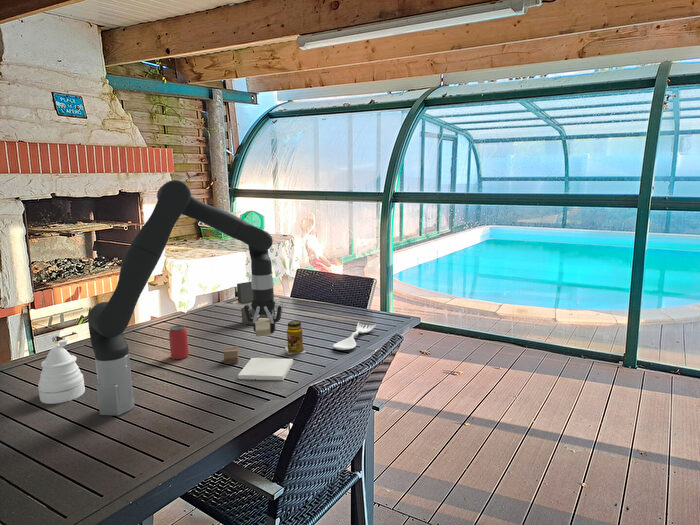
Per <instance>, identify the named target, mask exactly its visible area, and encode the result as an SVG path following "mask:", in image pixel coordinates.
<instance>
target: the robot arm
mask: <svg viewBox="0 0 700 525" xmlns="http://www.w3.org/2000/svg"><path fill="white" fill-rule="evenodd" d="M156 199H157V202H156V204H155V206H154V208H153V210H152V212H151V214H150V216H149V217H148V219H147V221H146V222H145V223H144V224H143V225H142V227H141V228H140V230H139V231H138V233H137V234H136V235H135V237H134V239H133V240H132V242H131V243H130V245H129V247H128V249H127V250H126V252H125V254H124V257H123V259H122V261H121V266H120V271H119V274H118V275H119V276H118V281H117V285H116V286H115V289H114V290H113V293H112V295H111V297H110V298H109V300H108V301H101V302H98V303H97V304H95V305H94V306H92V308H91V309H90V311H89V313H88V318H87V320H88V321H87V322H88V324H87V325H88V329H89V330H88V331H89V337H90V344H91V348H92V350H93V354H94V359H95V360H94V361H95V369H96V377H97V384H96V392H97V393H96V394H97V401H98V408H99V409H98V410H99V415H100V416H116V417H118V416H120V415H122V414H125V413H128V412H129V411H131V410H132V409H134V407H135V398H134V391H133V382H132V381H133V380H132V372H131V370H132V369H131V360H130V352H129V345H128V343H127V341H126V339H125V336H124V331H125V330H127V328H128V326H129V324H130V322H131V319H132V315H133V314H134V312H135V309H136V306H137V303H138V301H139V298H140V296H142V295H141V294H142V292H143V290H144V289H145V287H146V285H147V283H148V281H149V279H150V277H151V275H152V274H153V272H154V271H155V268H156V266H157V264H158V262H159V261H160V259H161V257H162V254H163V252H164V250H165V248H166V246H167V243H168V241H169V238H170V236H171V233H172V231H173V228H174V227H175V225H176V223H177V221H178V220H179V218H180V217H181V215H182V216H186V217H189V218H191V219H194V220H196V221H199V222H201V223H203V224H205V225H206V226H208V227H210V228H212V229H215V230H216V231H219V232H220V233H222V234H225V235H226V236H229V237H230V238H233V239H235V240H238V241H241V243H243V244H245V245H247V246H248V252H249V257H250V262H251V263H250V265H251V266H250V267H251V268H250V269H251V270H250V271H251V281H250V282H251V284H252V304H246V305H245V306H244V309H245V313H246V316H247V319H248V321H251V322H253V323H252V324H253V325H252V326H253V332H255V334H256V327H255V322H256V321H257V320H258V318H259V316H260V315H262V314H264V315H267V316H268V318H269V320H270V322H271V324H270V328H271V333H272V334H274V333H275V332H276V330H277V329H276V323H278V322H279V321H280V320H281V317H282V312H283V308H284V305H283V304H282V303H281V304H277V303H276V302H274V297H275V294H274V291H275V290H274V285H275V284H274V278H273V270H272V269H273V268H272V266H273V265H272V260H271V257H270V255H269V249H271V247H272V245H273V237H272V235H271V233H269V232H268V231H266V230H264V229H262V228H260V227H258V226H255V225H253V224H250V223H249V222H247V221H246V220H244V219H242V218H240V217H238V216H237V215H234V214H232V213H231V212H228V211H227V210H224V209H221V208H218V207H215V206H212V205H210V204H207V203H205V202H203V201H201V200H199V199H197V198H195V197H194V196H192V192H191V189H190V187H189V185H188V184H187V183H186V182H185V181H183V180H179V179H173V180H169V181H167V182H165V183H164V184H162V186H160V188H159V189H158V191H157V193H156ZM251 307H253V309H254V310H255V311H256V312H255V315H254V318H253V316H252V313H251V309H252V308H251ZM274 307H275V311H276V314H275V317H274V313H273V311H272V310H273V308H274ZM272 334H271V335H272Z"/></svg>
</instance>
